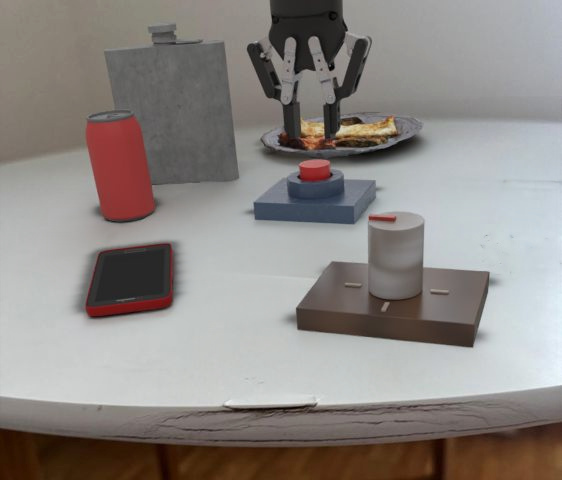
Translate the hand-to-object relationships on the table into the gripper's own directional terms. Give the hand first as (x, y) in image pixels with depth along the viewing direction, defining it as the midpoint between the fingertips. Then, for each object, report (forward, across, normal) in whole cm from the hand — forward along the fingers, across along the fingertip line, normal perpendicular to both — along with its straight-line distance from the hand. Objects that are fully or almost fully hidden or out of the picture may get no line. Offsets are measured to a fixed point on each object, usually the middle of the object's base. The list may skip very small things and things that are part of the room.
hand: (313, 136), depth 79 cm
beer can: (+9, -23, -5) cm, 25 cm away
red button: (+5, 0, 0) cm, 5 cm away
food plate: (+9, -6, +31) cm, 33 cm away
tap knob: (+6, +15, -25) cm, 30 cm away
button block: (+8, 0, 0) cm, 8 cm away
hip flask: (+9, -23, +10) cm, 27 cm away
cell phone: (+8, -11, -24) cm, 28 cm away
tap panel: (+8, +15, -25) cm, 30 cm away
